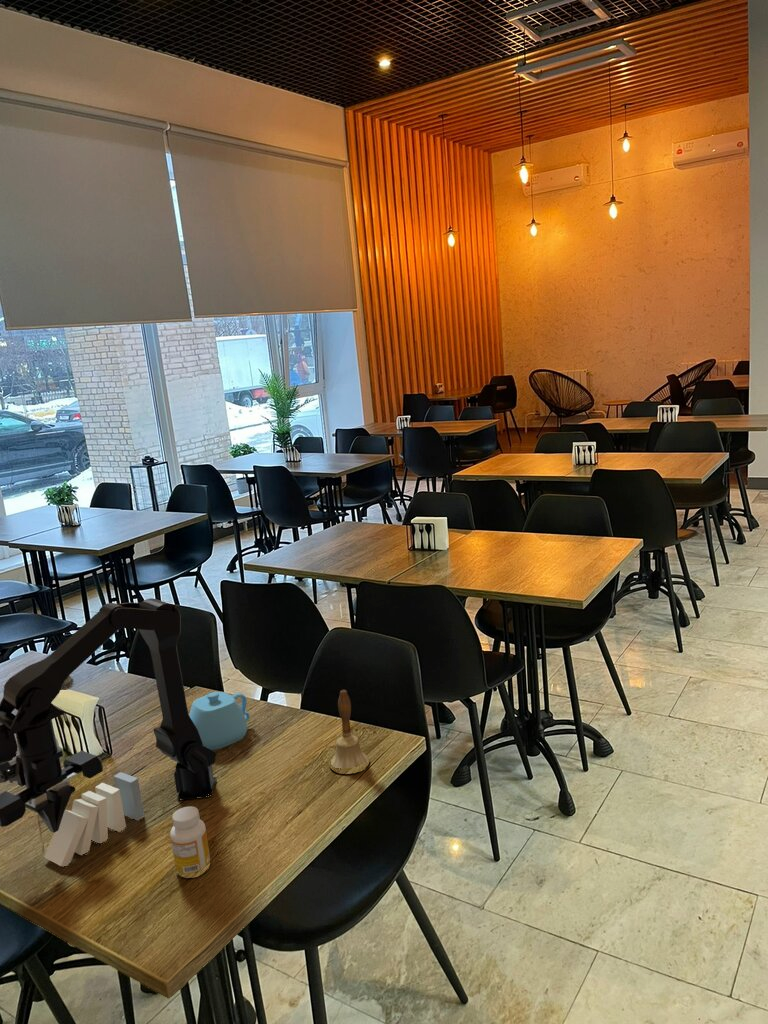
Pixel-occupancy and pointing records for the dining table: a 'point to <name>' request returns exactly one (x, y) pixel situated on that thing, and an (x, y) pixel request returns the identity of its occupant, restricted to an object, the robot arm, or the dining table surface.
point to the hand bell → (347, 739)
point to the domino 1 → (66, 838)
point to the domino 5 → (129, 795)
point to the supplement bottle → (189, 841)
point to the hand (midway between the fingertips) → (54, 831)
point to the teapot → (219, 719)
